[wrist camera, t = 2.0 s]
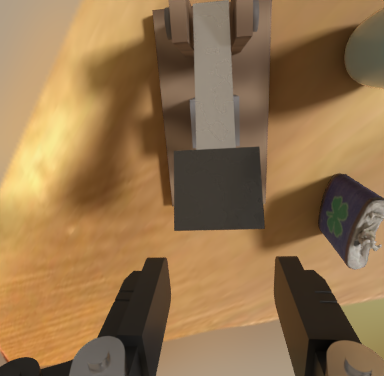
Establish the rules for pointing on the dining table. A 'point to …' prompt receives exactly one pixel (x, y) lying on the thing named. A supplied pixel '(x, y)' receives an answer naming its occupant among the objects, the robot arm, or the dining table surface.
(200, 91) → the lever
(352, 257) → the flask
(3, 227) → the dining table surface
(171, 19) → the frame
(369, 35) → the cup
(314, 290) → the robot arm
